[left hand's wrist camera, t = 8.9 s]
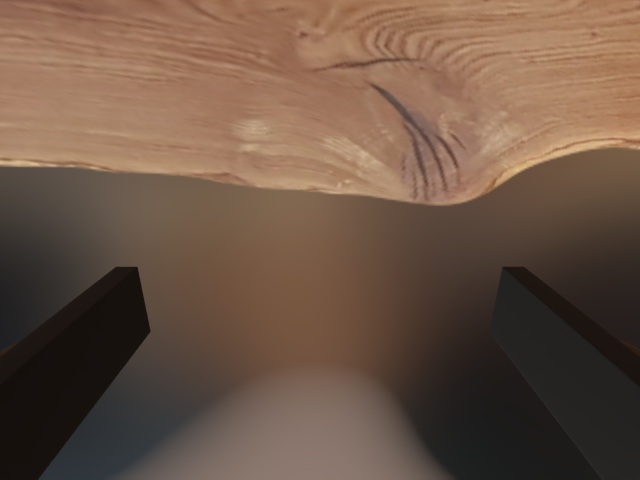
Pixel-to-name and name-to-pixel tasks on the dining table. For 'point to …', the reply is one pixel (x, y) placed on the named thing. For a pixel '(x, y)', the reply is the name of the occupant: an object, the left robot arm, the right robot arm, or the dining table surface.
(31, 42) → the dining table surface
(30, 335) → the left robot arm
